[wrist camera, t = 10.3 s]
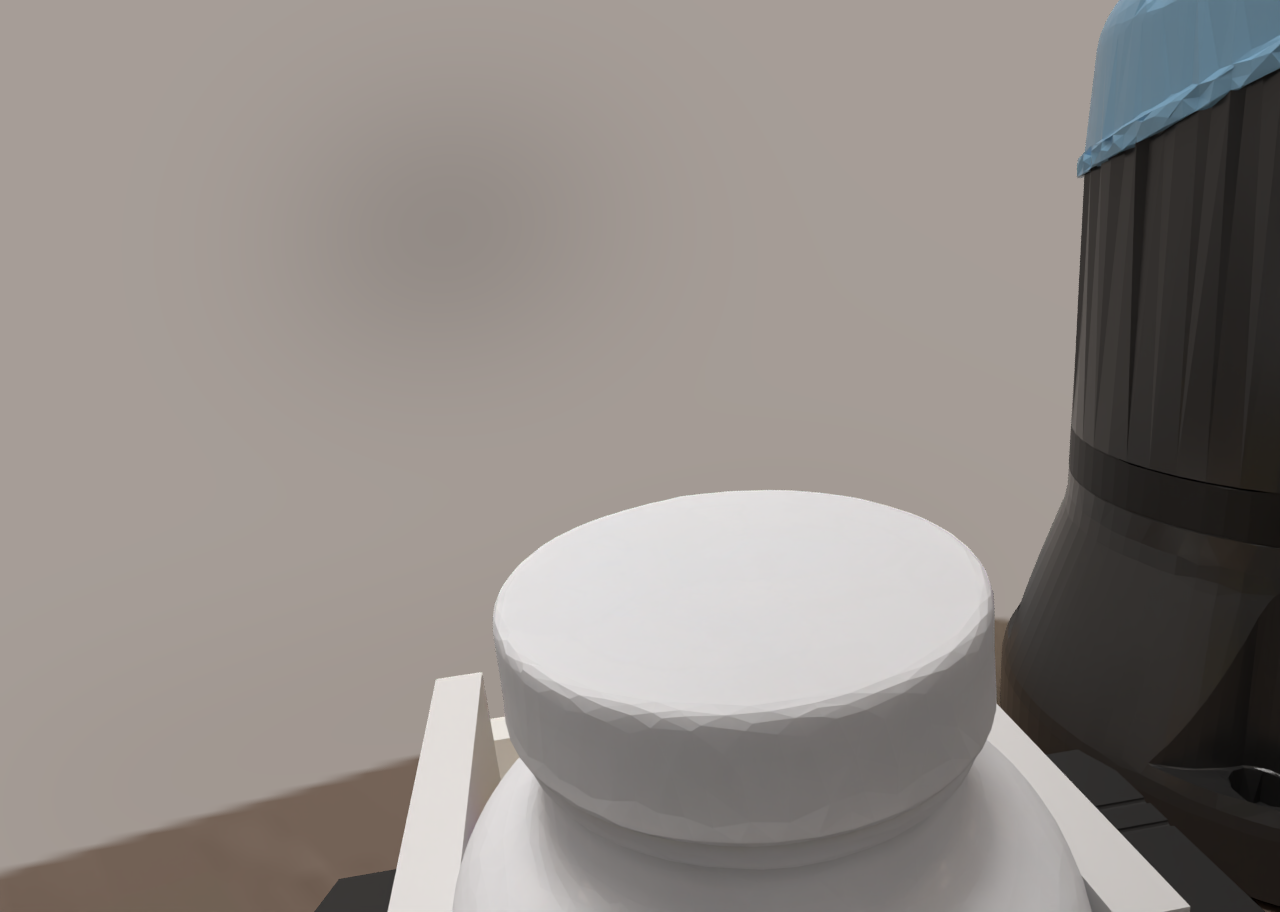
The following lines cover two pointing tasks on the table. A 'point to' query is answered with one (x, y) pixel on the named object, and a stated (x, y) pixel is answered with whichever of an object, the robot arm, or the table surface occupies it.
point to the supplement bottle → (757, 721)
